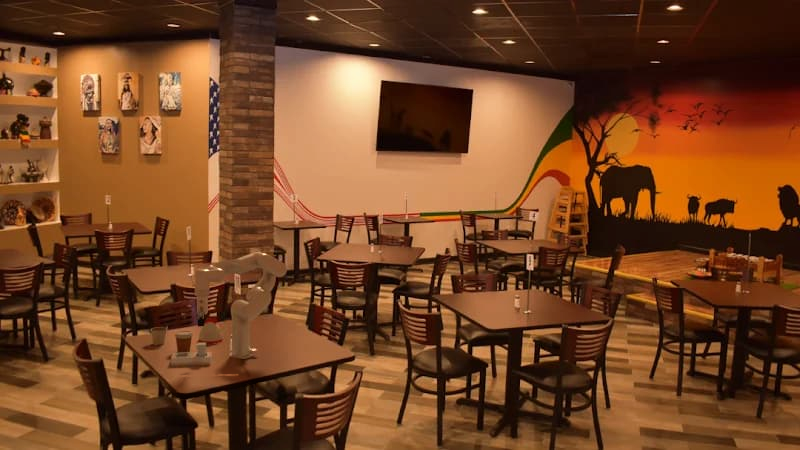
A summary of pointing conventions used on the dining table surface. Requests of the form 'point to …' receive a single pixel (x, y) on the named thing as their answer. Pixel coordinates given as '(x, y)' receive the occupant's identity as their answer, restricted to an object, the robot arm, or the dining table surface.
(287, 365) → the dining table surface
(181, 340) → the disposable coffee cup
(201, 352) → the plug
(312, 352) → the dining table surface
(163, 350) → the dining table surface
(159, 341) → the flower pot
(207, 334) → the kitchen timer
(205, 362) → the panel
